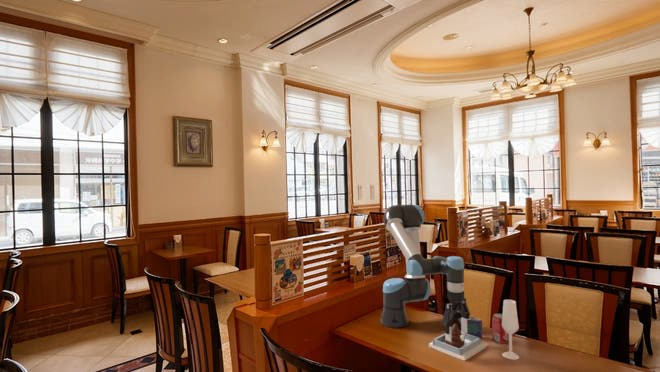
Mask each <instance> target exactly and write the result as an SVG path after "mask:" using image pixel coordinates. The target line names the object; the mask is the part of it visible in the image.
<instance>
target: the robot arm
mask: <svg viewBox="0 0 660 372" xmlns="http://www.w3.org/2000/svg"><path fill="white" fill-rule="evenodd" d="M425 220H426V219H425V212H424V210H423V208H422V207H421V206H420V205H418V204H411V203H410V204H396V205H391V206H390V207H388V208H386V210H385V212H384V215H383V225H384V228H386V230H387V231H388V232H390V233H391V235H392V237H393V239H394V241H395V242H396V244H397V246H398V248H399V249H400V251H401V253H402V254H403V256H404V258H405V265H406V266H405V268H406V274H405V276H404V277H403V278H404V279H403V278H401V277H397V278H396V277H392V278H389V279H386V280H385V281H384V282H383V285H382V294H383V299H382V300H383V301H382V302H383V309H382V312H381V316H380V323H381V325H383V326H385V327H388V328H392V329H393V328H397V329H399V328H404V327H407V326H408V325H409V317H408V316H407V312H406V303H411V302H412V303H413V302H421V301H425V300H428V299H429V297H430V296H431V293H432V286H431V283H430V281H429V280H428V278H426V275H427V276H428V275H437V274H443V275H446V289H447V292H446V293H447V297H446V298H447V299H448V300H449V303H447V302H446V303H445V305H444V306H445V309H444V313H443V316H442V321H441V326H442V327H444V334H445V340H448V341H450V342H451V341H452V335H451V326H450V325H451V322H452V320H453V317H454V314H456V312H457V311H459V312H460V314H461V316H462V317H463V318H461V330H460V331H461V332H465V333H467V319H469V318H470V317H471V313H470V310H469V307H468V304H467V298H465V265H464V264H465V263H464V259H463V258H462V257H461V256H455V255H451V256H448V257H443V256H441V255H439V256H438V255H434V256H433V257H432V258H424V257H423V255H422V254H421V243H420V229H421V228H422V225H423V224H424V222H425ZM451 309H452V310H451Z"/></svg>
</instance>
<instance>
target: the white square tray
mask: <svg viewBox="0 0 660 372" xmlns="http://www.w3.org/2000/svg"><path fill="white" fill-rule="evenodd" d="M460 332H462V331H461V330H460ZM463 333H464V332H463ZM481 340H482V338H479V337H476V336H473V335H470V334H467V333H465V340H464V345H463V346H462V347H461V348H456V347H454V346H451V345H448V344H446V340H445V333H443V334H441V335H438V336H437V337H434V338H433V339H432V341H431V342H430V343H428V347H429V348H431V347H432V349H433V348H434V350H435V351H438V352H440V353H444V354H445V355H446V354H447V355H449V356H451V357H453V358H456V359H458V360H462V361H464V362H465V361H467V360H468V359H470V358H471V357H473V356H474V355H477V354H478V353H480V352H481V351H483V350H484V349H486V344H484V343H482V342H481Z"/></svg>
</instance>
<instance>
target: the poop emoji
mask: <svg viewBox="0 0 660 372" xmlns="http://www.w3.org/2000/svg"><path fill="white" fill-rule="evenodd" d="M460 331H461V330H459V328H458V326H457V324H455V323H454V325H453V326H452V327H451V335H452V341H451V342H450V341H448V340H446V344H448V345H451V346H454V347H456V348H461V347H462V346H463V345H464V340H465V333H463V332H462V331H461V332H460Z"/></svg>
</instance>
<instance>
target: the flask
mask: <svg viewBox="0 0 660 372" xmlns="http://www.w3.org/2000/svg"><path fill="white" fill-rule="evenodd" d="M469 317H470V318H469V319H467V334H470V335H473V336H476V337H479V338H481V339H483V337H484V336H483V320H482V319H481V318H475V316H474V314H472V315H471V314H470V316H469ZM464 333H465V332H464Z"/></svg>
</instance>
